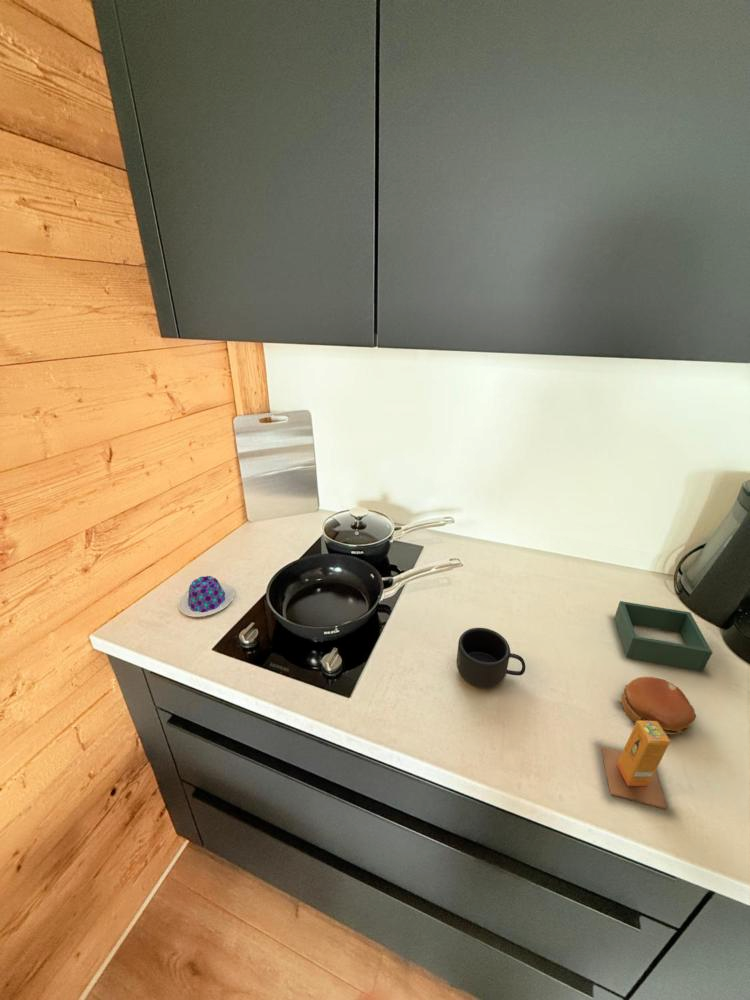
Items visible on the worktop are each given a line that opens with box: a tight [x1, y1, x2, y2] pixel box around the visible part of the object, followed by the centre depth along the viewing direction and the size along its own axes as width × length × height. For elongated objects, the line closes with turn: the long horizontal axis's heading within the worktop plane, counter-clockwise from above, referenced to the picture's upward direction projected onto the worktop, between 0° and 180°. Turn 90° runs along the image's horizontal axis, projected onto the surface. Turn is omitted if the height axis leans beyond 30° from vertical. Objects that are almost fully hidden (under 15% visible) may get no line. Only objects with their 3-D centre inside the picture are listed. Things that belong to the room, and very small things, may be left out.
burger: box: [620, 676, 697, 735], centre depth 70 cm, size 10×9×5 cm
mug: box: [455, 627, 526, 689], centre depth 77 cm, size 12×9×7 cm
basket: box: [613, 600, 713, 673], centre depth 84 cm, size 13×11×5 cm
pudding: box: [178, 575, 235, 618], centre depth 96 cm, size 12×12×5 cm
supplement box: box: [617, 721, 672, 786], centre depth 59 cm, size 3×3×10 cm
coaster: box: [600, 746, 668, 810], centre depth 62 cm, size 7×7×1 cm
